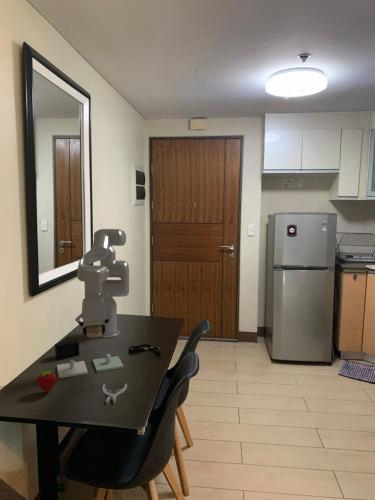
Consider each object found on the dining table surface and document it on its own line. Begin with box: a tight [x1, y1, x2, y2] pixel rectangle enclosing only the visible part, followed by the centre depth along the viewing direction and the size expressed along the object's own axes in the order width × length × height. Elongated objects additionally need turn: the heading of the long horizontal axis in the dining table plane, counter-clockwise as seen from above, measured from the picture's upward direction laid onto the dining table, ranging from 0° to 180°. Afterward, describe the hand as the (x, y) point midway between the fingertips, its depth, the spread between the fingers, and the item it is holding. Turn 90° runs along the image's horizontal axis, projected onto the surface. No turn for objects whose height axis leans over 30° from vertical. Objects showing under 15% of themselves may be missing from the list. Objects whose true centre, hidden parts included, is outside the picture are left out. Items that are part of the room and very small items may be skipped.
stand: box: [56, 359, 89, 379], centre depth 166 cm, size 12×12×4 cm
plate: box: [92, 353, 125, 373], centre depth 172 cm, size 12×12×5 cm
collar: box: [85, 323, 102, 339], centre depth 168 cm, size 7×7×4 cm
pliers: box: [101, 383, 128, 405], centre depth 146 cm, size 10×2×15 cm
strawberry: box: [36, 370, 58, 393], centre depth 145 cm, size 6×8×10 cm
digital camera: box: [54, 339, 80, 361], centre depth 181 cm, size 10×5×7 cm, turn 127°
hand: (94, 334), depth 168 cm, fingers closed on collar, 7 cm apart
